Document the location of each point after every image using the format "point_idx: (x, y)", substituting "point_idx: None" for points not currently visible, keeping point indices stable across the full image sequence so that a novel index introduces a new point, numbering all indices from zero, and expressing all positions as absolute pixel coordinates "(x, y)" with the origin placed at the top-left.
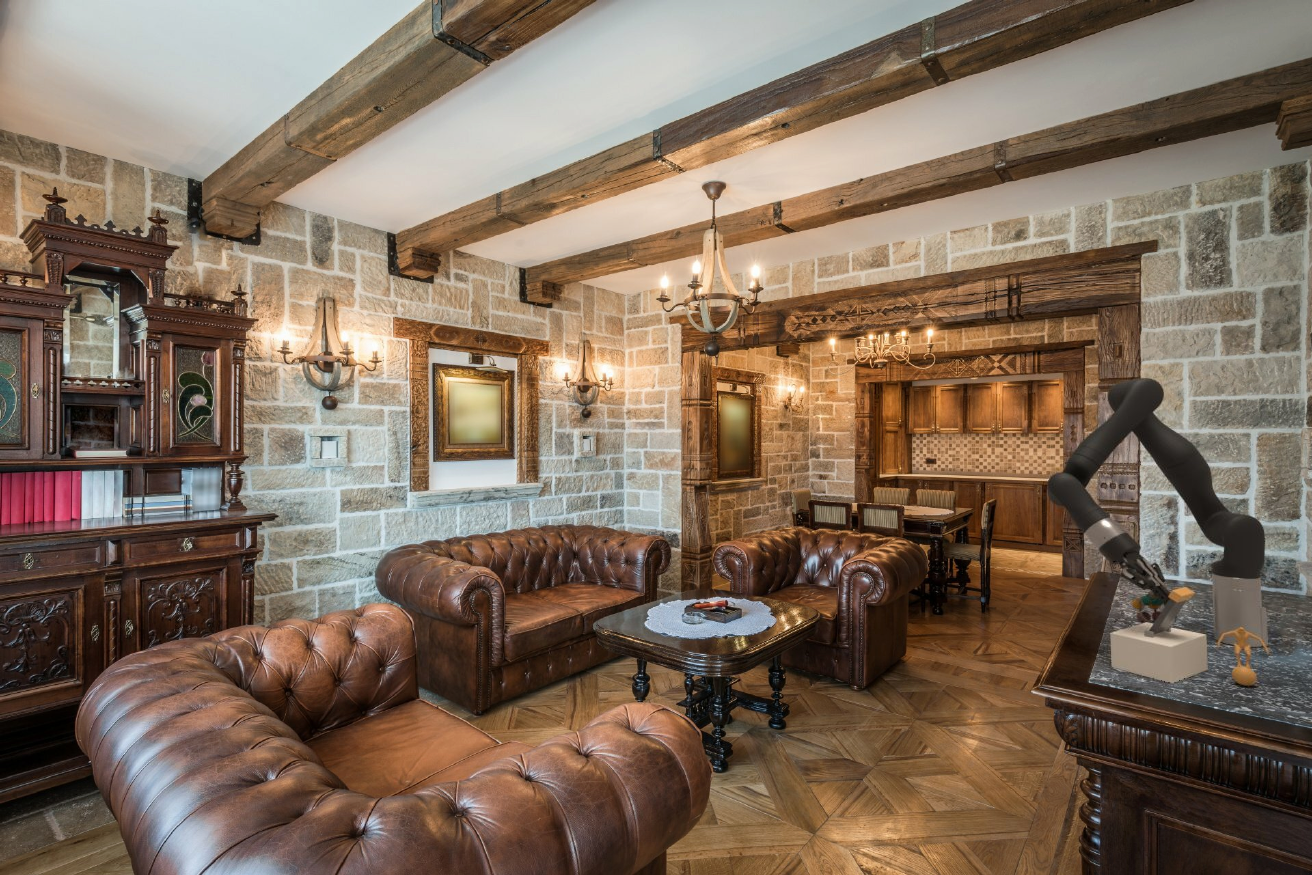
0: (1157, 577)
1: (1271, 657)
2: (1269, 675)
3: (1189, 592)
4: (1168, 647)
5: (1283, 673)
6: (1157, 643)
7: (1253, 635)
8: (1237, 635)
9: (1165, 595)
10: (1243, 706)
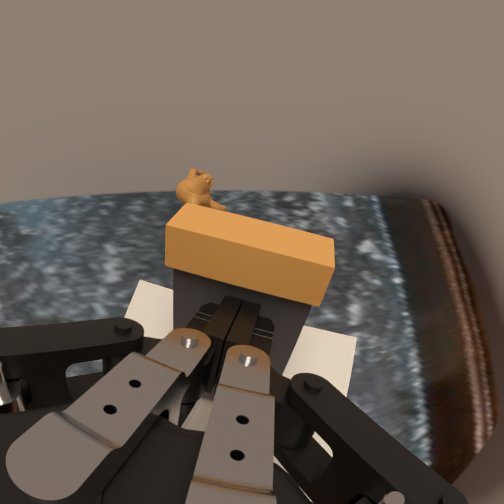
0: (154, 359)
1: (29, 230)
2: (135, 226)
3: (226, 216)
4: (354, 344)
5: (111, 211)
6: (347, 372)
7: (195, 173)
8: (207, 199)
9: (264, 328)
10: (358, 249)
